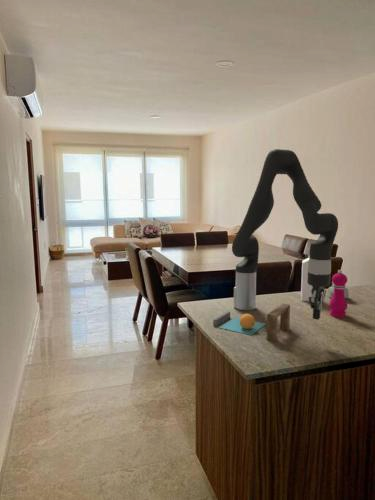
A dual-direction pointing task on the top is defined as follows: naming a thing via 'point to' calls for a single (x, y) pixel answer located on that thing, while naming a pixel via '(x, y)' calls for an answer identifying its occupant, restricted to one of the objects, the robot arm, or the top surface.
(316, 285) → the robot arm
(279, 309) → the bridge
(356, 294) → the top surface
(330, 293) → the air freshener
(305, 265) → the milk
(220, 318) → the stopper
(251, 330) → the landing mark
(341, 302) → the pepper mill
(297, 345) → the top surface
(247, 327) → the ball
